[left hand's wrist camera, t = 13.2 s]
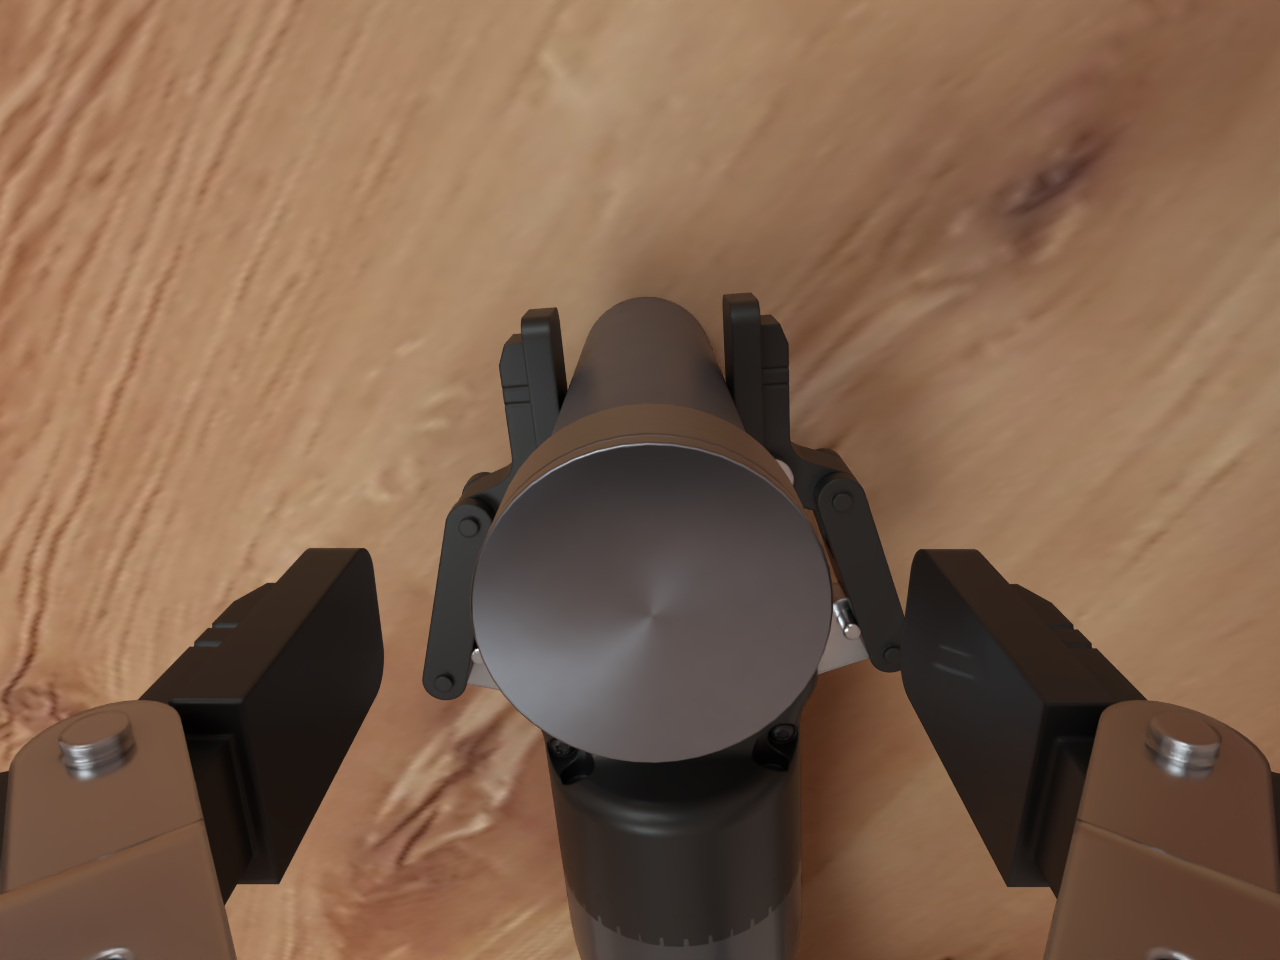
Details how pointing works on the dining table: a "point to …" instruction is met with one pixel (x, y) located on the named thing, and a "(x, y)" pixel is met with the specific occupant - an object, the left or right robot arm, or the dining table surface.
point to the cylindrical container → (647, 364)
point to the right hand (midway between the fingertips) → (638, 308)
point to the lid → (651, 586)
